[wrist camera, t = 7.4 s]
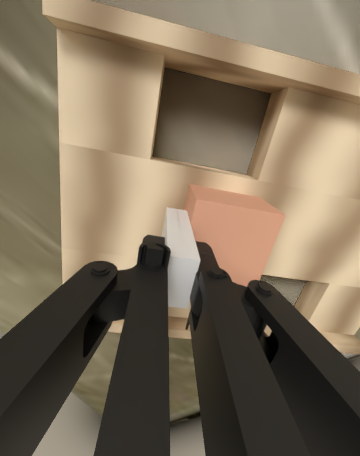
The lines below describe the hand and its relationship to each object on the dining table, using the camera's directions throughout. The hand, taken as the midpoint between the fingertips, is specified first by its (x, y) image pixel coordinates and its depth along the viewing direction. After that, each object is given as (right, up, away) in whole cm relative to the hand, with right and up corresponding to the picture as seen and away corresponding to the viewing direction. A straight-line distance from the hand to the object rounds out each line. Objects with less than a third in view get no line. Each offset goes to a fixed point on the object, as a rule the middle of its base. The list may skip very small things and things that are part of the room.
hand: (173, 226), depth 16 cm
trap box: (+6, +1, +4) cm, 8 cm away
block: (+3, 0, +2) cm, 4 cm away
